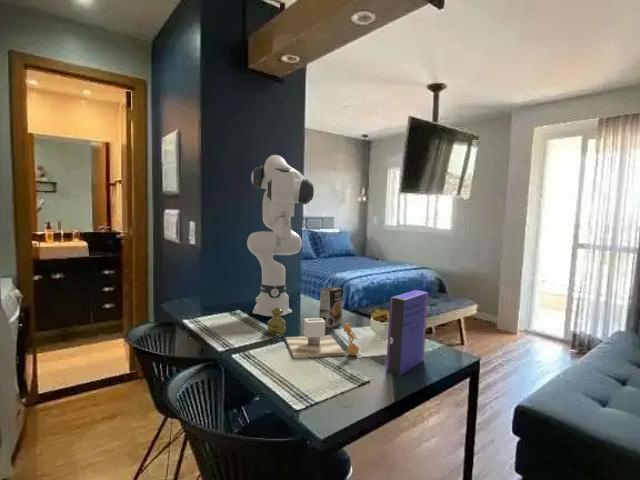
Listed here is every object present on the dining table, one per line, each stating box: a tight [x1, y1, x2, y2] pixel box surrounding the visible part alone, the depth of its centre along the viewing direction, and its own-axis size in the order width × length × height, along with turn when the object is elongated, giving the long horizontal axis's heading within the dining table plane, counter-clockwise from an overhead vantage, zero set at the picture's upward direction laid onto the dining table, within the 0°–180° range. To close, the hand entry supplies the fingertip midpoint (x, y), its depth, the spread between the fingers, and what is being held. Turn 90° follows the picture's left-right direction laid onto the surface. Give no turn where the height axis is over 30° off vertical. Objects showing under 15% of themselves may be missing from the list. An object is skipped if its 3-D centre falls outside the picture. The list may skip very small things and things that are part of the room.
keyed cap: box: [303, 317, 326, 338], centre depth 139 cm, size 7×5×6 cm
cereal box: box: [385, 289, 429, 377], centre depth 126 cm, size 17×5×24 cm, turn 141°
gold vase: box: [266, 308, 287, 335], centre depth 155 cm, size 7×7×10 cm
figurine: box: [342, 321, 360, 356], centre depth 133 cm, size 8×6×12 cm
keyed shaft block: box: [284, 335, 346, 359], centre depth 139 cm, size 18×18×9 cm
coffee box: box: [318, 286, 344, 329], centre depth 169 cm, size 9×6×16 cm
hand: (280, 248), depth 145 cm, fingers open, 8 cm apart
